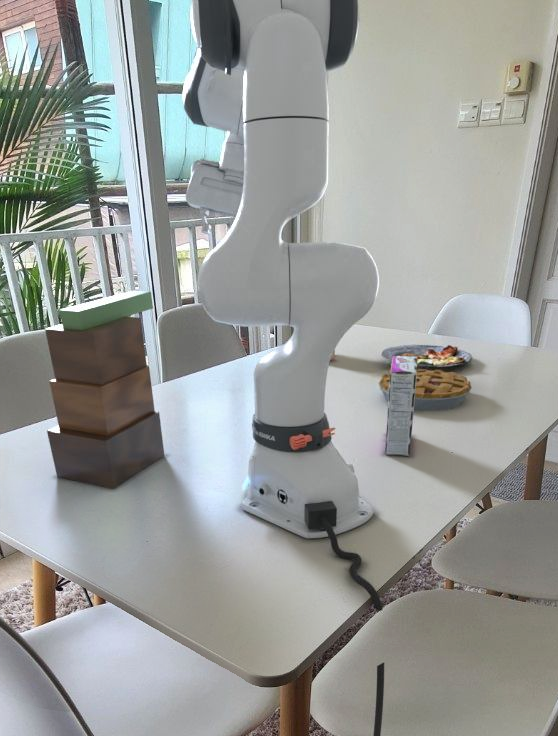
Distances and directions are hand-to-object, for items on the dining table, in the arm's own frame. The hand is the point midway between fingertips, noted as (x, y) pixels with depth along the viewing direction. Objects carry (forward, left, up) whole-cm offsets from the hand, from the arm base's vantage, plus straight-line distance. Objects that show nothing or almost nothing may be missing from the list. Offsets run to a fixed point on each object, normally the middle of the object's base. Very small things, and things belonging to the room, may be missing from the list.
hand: (226, 238), depth 132 cm
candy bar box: (-45, -11, -36) cm, 58 cm away
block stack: (-19, +38, -36) cm, 56 cm away
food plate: (-5, -61, -36) cm, 71 cm away
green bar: (-16, +34, -10) cm, 39 cm away
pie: (-27, -37, -36) cm, 58 cm away
